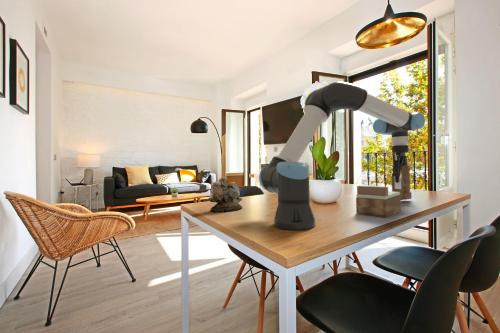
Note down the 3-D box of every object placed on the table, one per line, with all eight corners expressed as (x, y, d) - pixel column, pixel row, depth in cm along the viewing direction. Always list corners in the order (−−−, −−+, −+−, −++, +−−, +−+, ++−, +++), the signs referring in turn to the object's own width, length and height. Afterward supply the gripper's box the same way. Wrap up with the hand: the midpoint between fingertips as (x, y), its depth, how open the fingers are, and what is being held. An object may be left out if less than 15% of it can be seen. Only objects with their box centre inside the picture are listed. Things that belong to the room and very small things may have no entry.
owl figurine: (214, 214, 119) (212, 178, 119) (204, 211, 129) (203, 177, 129) (246, 209, 128) (245, 175, 128) (235, 206, 138) (234, 175, 138)
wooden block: (391, 200, 134) (391, 166, 133) (405, 198, 138) (404, 165, 138) (398, 201, 130) (397, 166, 130) (411, 198, 135) (411, 165, 134)
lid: (356, 197, 109) (356, 186, 109) (372, 192, 120) (372, 182, 120) (385, 199, 100) (385, 187, 100) (399, 194, 112) (399, 183, 111)
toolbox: (356, 213, 109) (356, 197, 109) (372, 207, 120) (372, 193, 120) (386, 217, 100) (385, 200, 100) (400, 210, 112) (400, 195, 111)
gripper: (401, 144, 123) (402, 190, 123) (414, 144, 137) (415, 186, 138) (384, 145, 128) (385, 189, 129) (399, 145, 143) (400, 185, 143)
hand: (401, 187), depth 133 cm, fingers open, 9 cm apart
